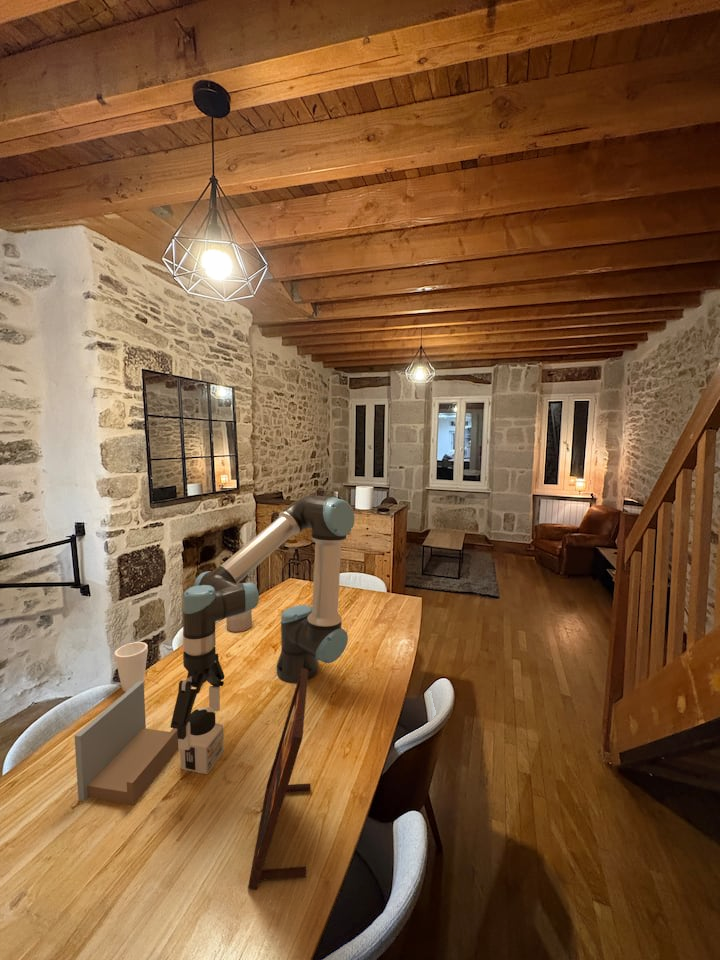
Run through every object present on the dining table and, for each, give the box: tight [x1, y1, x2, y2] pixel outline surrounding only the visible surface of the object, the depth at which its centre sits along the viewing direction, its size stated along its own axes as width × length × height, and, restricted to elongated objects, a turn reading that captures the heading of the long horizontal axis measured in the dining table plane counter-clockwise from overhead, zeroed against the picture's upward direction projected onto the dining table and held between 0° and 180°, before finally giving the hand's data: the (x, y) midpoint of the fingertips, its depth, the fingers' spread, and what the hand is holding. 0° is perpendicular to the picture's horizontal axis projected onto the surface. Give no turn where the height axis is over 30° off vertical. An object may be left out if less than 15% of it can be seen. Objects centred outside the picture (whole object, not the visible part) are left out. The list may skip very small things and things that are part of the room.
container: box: [179, 706, 225, 775], centre depth 98 cm, size 8×8×13 cm
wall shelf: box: [74, 681, 179, 806], centre depth 95 cm, size 13×20×16 cm, turn 171°
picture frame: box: [247, 668, 312, 891], centre depth 79 cm, size 21×11×30 cm, turn 5°
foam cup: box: [114, 641, 149, 693], centre depth 127 cm, size 10×9×13 cm
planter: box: [226, 609, 253, 633], centre depth 169 cm, size 11×11×10 cm
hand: (200, 727), depth 97 cm, fingers open, 13 cm apart
